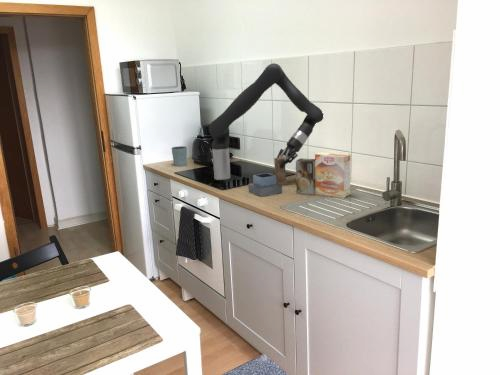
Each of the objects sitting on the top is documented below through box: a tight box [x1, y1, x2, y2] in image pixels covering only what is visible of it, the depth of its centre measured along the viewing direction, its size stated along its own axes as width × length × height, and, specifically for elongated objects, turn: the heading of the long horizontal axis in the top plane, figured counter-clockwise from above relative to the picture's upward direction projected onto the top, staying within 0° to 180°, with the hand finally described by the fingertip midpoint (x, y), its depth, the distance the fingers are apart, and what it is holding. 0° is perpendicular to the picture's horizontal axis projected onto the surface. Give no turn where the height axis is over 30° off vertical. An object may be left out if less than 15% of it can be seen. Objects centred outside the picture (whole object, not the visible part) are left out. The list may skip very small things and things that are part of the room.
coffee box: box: [295, 158, 316, 196], centre depth 204 cm, size 9×6×16 cm
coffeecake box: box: [314, 151, 352, 199], centre depth 198 cm, size 15×7×20 cm, turn 53°
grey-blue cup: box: [171, 145, 188, 167], centre depth 284 cm, size 10×10×12 cm
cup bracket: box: [247, 172, 283, 198], centre depth 209 cm, size 12×12×8 cm
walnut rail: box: [273, 156, 287, 186], centre depth 221 cm, size 4×4×14 cm
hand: (278, 166), depth 220 cm, fingers closed on walnut rail, 4 cm apart
